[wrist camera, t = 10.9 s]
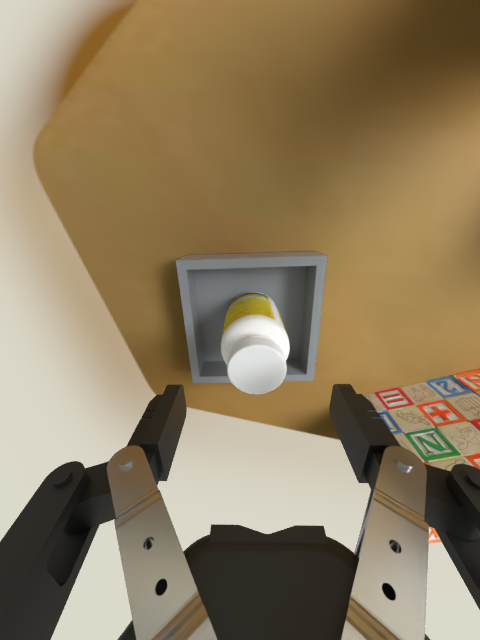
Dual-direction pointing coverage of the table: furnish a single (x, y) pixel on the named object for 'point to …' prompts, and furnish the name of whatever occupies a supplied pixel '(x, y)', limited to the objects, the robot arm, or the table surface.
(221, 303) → the box
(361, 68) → the table surface
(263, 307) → the supplement bottle
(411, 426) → the stack of blocks
